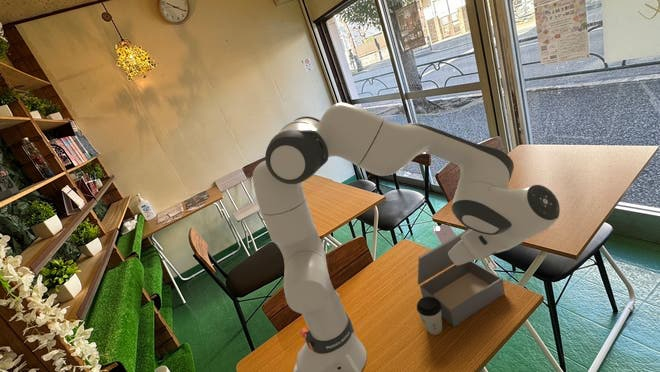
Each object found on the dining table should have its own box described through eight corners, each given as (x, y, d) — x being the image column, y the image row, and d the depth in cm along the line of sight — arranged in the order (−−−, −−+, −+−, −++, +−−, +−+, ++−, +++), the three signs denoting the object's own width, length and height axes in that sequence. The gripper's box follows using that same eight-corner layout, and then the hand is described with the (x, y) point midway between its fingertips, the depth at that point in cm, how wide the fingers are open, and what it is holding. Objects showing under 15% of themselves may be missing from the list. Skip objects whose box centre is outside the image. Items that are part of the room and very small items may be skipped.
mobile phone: (441, 245, 124) (431, 227, 138) (442, 247, 124) (431, 228, 138) (460, 240, 123) (448, 222, 137) (461, 242, 123) (448, 224, 137)
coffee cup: (448, 321, 92) (442, 295, 89) (444, 340, 87) (437, 314, 83) (425, 316, 96) (418, 292, 93) (419, 335, 91) (412, 309, 87)
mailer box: (454, 327, 90) (450, 311, 88) (423, 300, 102) (419, 286, 100) (504, 293, 95) (502, 278, 93) (469, 271, 107) (466, 257, 105)
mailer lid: (419, 258, 92) (418, 257, 92) (418, 284, 101) (417, 283, 101) (471, 229, 97) (469, 228, 97) (465, 256, 106) (464, 255, 106)
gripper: (522, 200, 75) (493, 221, 87) (457, 238, 69) (435, 254, 82) (541, 222, 72) (508, 240, 84) (475, 263, 67) (450, 276, 79)
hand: (472, 247), depth 83 cm, fingers open, 3 cm apart
